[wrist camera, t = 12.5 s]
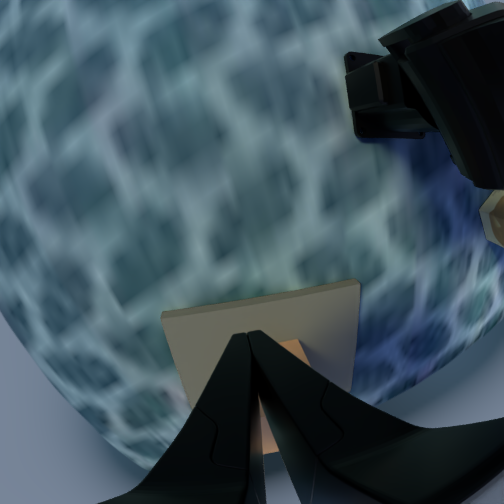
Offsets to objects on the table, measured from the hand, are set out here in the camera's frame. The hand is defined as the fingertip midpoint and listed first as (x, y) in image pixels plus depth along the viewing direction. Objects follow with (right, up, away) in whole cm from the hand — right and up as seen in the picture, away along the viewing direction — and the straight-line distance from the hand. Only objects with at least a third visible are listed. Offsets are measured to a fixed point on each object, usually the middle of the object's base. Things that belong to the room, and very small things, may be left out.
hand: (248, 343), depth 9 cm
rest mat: (+2, -6, +15) cm, 16 cm away
